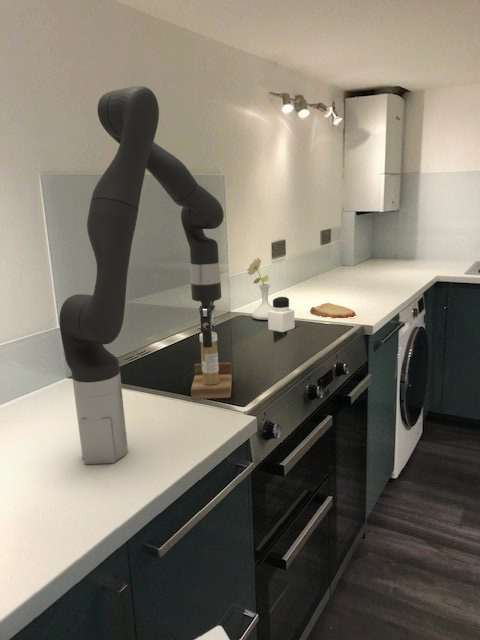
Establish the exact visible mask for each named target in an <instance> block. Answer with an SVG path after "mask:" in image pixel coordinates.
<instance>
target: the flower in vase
mask: <svg viewBox="0 0 480 640" xmlns="http://www.w3.org/2000/svg"><path fill="white" fill-rule="evenodd" d="M261 260H262V259H260V258H259V257H257V258H254V259H253V261H252V263H250V264H249V267H248V269H247V274H248V275H250V276H252V275H254V274H255V273H258V275H259V277H257V278H255V279H254V280H253V282H252V284H258V283H260V281H261V282H262V283H260V284H258V285H257V286H258V287H259V288H260V290H261V297H262V298H261V299H262V300H261V303H260V304H259V306H257V308H255V309H254V310H253V312H251V316H252V318H253V319H256V320H262V321H263V320H264V321H265V320H267V321H268V311H271V310H274V309H273V305H271V304H270V303H269V289H270V287H271V285H272V284H270V283H266V282H267V281H269V276H268V274H267V275H265V276H263V277H262V276H261V273H260V271H259V269H260V267H261V265H262V264H261V262H262V261H261Z"/></svg>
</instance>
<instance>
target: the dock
mask: <svg viewBox="0 0 480 640" xmlns="http://www.w3.org/2000/svg"><path fill="white" fill-rule="evenodd" d="M193 366H194V376H193V377H194V378H193V381H192V385H191V388H190V396H191V400H198V399H199V400H201V399H202V400H203V399H204V400H205V399H224V398H225V399H226V398H227V399H228V398H231V396H232V387H233V386H232V384H233V383H232V382H233V378H232V377H233V376H232V375H233V374H232V362H229V361H228V362H218V367H219V370H218V374H219V383H217V384H214V385H206V384H204V383H203V373H202V362H201V363H194V365H193Z"/></svg>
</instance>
